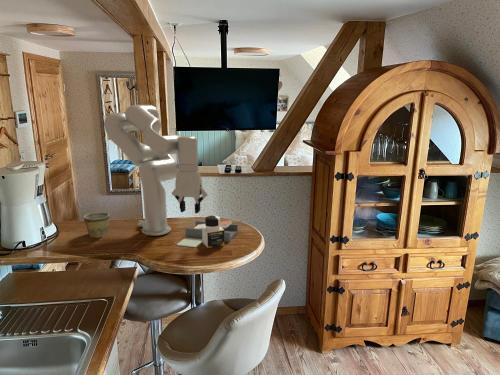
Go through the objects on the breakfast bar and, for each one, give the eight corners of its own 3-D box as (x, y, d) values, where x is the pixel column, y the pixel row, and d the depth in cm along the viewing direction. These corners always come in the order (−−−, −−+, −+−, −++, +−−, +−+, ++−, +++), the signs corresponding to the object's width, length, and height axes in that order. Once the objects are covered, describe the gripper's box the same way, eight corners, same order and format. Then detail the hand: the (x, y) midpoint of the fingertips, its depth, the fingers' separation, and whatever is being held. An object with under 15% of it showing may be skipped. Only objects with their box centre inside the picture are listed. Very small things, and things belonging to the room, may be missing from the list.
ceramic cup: (102, 243, 152) (100, 219, 149) (80, 241, 154) (78, 218, 151) (119, 232, 164) (117, 211, 162) (99, 231, 166) (97, 209, 164)
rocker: (192, 231, 160) (192, 228, 160) (198, 227, 167) (198, 224, 166) (226, 227, 156) (226, 224, 155) (231, 223, 162) (231, 220, 162)
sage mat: (176, 245, 150) (176, 244, 149) (185, 238, 158) (185, 237, 157) (195, 247, 147) (195, 246, 147) (204, 240, 155) (204, 239, 155)
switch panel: (185, 237, 159) (185, 226, 158) (196, 228, 170) (196, 218, 169) (229, 241, 154) (229, 230, 153) (238, 232, 165) (237, 222, 164)
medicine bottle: (207, 249, 147) (207, 220, 144) (202, 243, 153) (201, 215, 151) (224, 246, 150) (224, 217, 147) (218, 240, 156) (217, 213, 154)
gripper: (164, 168, 144) (166, 213, 148) (204, 170, 140) (206, 216, 144) (173, 165, 151) (175, 208, 155) (212, 167, 147) (213, 211, 151)
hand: (190, 211), depth 149 cm, fingers open, 5 cm apart
